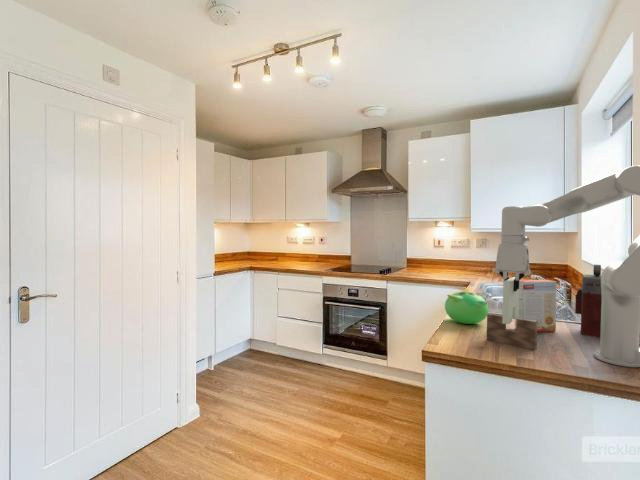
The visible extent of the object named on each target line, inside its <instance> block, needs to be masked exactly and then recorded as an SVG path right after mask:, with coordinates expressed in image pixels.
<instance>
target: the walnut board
mask: <svg viewBox="0 0 640 480" xmlns="http://www.w3.org/2000/svg"><path fill="white" fill-rule="evenodd" d="M502 318H503V314H499V313H498V314H497V313H491V312H488V314H487V316H486V341H488V342H489V341H490V342H494V343H500V344H504V345H509V346H514V347H519V348H523V349H529V350H532V351H533V350H534V351H536V350H537V343H538V342H537V341H538V332H537V320H531V319H524V318H517V320H516V328H515V329H516V330H514V329H510V328H509V329H508V328H507V324H504V323H502Z"/></svg>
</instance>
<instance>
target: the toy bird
mask: <svg viewBox="0 0 640 480" xmlns="http://www.w3.org/2000/svg"><path fill="white" fill-rule="evenodd" d="M446 297H447V298H446V300H445V303H444V310H445V313H446V314H447V316H448V317H449V318H450V319H451V320H453V321H455V322H457V323H461V324H464V325H465V324H466V325H472V324H479V323H481V322H483V321H484V320H485V319H487V314H488V313H489V306H488V305H489V304H488V301H486V300H485V298H484V297H483V296H481V295H480V294H477V293H474V292H471V290H470V289H465V290H463V291H459V292H455V293H452V294H447V295H446Z"/></svg>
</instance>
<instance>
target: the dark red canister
mask: <svg viewBox="0 0 640 480" xmlns="http://www.w3.org/2000/svg"><path fill="white" fill-rule="evenodd" d="M592 271H593V274H589V273H588V274H583V276H582V278H581V279H582V280H581V288H580V287H579V288H578V290H577V292H576V294H575V300H574V301H575V304H574V305H575V308H574V309H575V310H574V314H578V315H580V335H582V336H589V337H595V338H600V333H601V307H602V293H601V274H602V265H601V264H593V270H592Z"/></svg>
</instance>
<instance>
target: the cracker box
mask: <svg viewBox="0 0 640 480" xmlns="http://www.w3.org/2000/svg"><path fill="white" fill-rule="evenodd" d="M517 318H524V319H531V320H537V333H540V332H556V331H557V329H556V328H557V325H556V323H557V281H556V280H555V281H554V280H552V279H551V280H550V279H520V280H519V316H518V317H517ZM517 318H516V319H514V320H515V329H516V320H517Z"/></svg>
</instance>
